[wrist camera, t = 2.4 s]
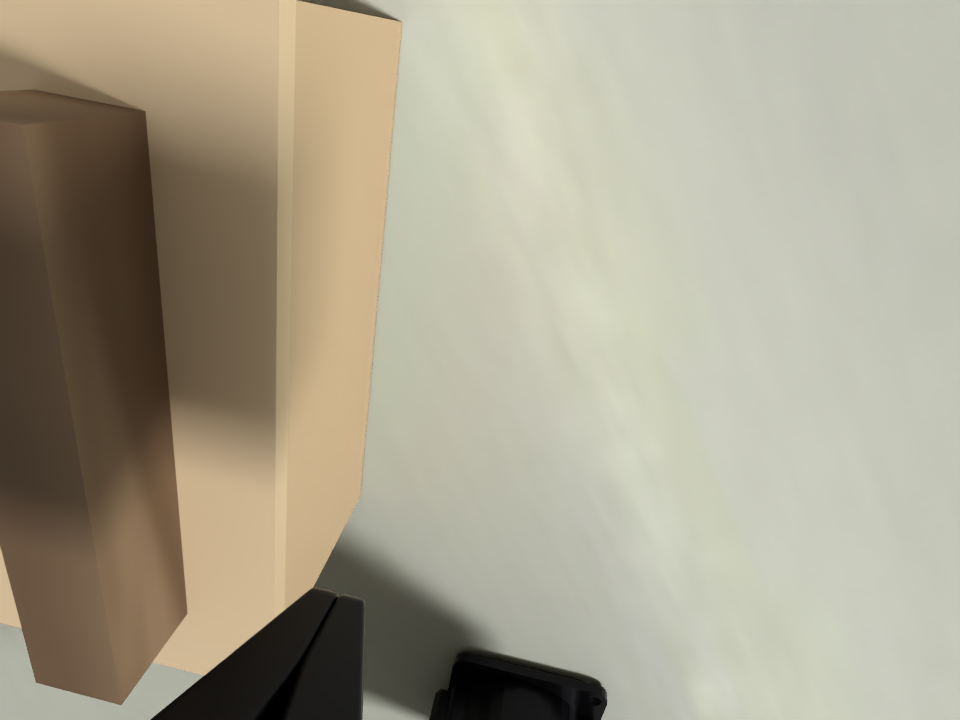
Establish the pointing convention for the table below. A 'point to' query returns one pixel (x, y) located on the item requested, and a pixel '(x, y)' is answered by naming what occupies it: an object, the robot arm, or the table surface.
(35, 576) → the mailer lid
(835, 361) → the table surface
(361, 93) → the mailer box
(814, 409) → the table surface
